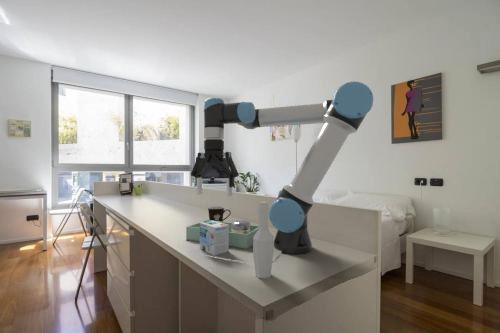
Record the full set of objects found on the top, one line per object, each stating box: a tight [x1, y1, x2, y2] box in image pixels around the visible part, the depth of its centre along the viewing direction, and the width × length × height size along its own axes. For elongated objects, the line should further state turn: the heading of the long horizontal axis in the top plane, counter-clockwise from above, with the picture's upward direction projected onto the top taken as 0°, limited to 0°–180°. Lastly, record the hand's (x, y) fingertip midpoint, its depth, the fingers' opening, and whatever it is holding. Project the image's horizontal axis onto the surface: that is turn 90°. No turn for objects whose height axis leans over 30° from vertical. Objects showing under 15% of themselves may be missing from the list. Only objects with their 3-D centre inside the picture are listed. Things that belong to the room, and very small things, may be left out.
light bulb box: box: [199, 220, 230, 258], centre depth 98 cm, size 11×7×11 cm, turn 42°
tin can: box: [230, 219, 251, 234], centre depth 109 cm, size 8×8×8 cm
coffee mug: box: [207, 205, 232, 222], centre depth 138 cm, size 12×9×10 cm
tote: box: [185, 219, 259, 249], centre depth 113 cm, size 30×16×6 cm, turn 65°
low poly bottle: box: [252, 201, 274, 279], centre depth 77 cm, size 6×6×22 cm
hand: (214, 195), depth 98 cm, fingers open, 13 cm apart
